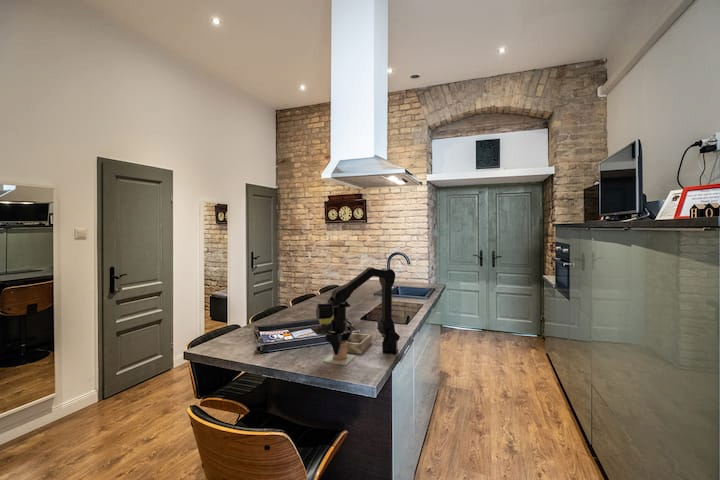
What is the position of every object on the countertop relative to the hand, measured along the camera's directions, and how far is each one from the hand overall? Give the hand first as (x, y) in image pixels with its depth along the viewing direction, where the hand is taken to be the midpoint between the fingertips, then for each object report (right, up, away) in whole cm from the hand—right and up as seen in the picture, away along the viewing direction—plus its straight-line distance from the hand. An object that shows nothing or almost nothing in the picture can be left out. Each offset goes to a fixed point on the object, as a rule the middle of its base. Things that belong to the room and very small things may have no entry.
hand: (339, 351), depth 152 cm
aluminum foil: (-39, -4, +23) cm, 46 cm away
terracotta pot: (0, -3, 0) cm, 3 cm away
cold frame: (+6, -3, +17) cm, 18 cm away
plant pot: (-11, -3, +48) cm, 50 cm away
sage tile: (0, -3, 0) cm, 3 cm away
